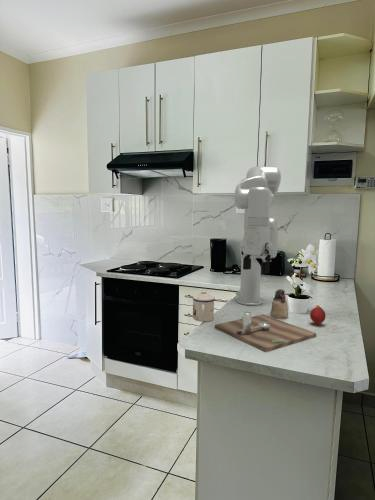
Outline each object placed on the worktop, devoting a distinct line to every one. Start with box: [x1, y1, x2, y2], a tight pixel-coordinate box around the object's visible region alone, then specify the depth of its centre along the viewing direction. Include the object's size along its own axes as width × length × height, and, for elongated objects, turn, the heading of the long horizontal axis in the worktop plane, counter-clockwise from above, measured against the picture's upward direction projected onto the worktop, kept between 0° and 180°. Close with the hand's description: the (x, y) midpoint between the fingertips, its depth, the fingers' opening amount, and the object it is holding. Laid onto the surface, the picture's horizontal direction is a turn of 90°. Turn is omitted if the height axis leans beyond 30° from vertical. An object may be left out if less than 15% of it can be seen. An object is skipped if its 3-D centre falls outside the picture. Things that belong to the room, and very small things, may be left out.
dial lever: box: [236, 311, 270, 335], centre depth 122 cm, size 15×4×7 cm, turn 124°
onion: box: [309, 304, 327, 325], centre depth 135 cm, size 6×6×8 cm
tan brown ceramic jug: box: [270, 288, 289, 320], centre depth 144 cm, size 7×7×12 cm
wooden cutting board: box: [214, 313, 317, 353], centre depth 125 cm, size 26×26×1 cm
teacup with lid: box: [192, 290, 216, 323], centre depth 137 cm, size 12×9×12 cm
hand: (255, 271), depth 121 cm, fingers open, 9 cm apart
